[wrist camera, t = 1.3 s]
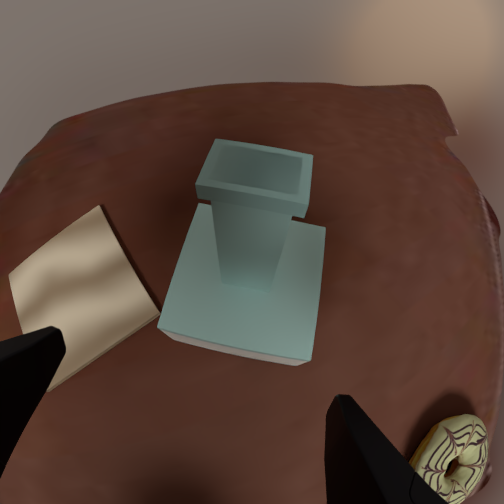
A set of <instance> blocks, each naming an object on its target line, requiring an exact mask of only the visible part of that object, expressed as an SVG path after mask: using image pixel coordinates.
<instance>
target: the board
mask: <svg viewBox="0 0 504 504" xmlns="http://www.w3.org/2000/svg"><path fill="white" fill-rule="evenodd" d="M9 280H10V285H11V290H12V294H13V298H14V303H15V307H16V311H17V314H18V318H19V321H20V325H21V328H22V332H23V334H26V333H29V332H33V331H36V330H39V329H42V328H45V327H48V326H54V327H56V328H59V329H60V330H61V331H62V334H63V338H64V341H65V345H66V354H65V356H64V358H63V360H62V361H61V363H60V365H59V367H58V369H57V371H56V373H55V375H54V377H53V379H52V381H51V383H50V385H49V387H48V389H47V392H49V391H51V390H52V389H54V388H55V387H57V386H58V385H59V384H61V383H62V382H64V381H65V380H67V379H68V378H70V377H71V376H73V375H74V374H75V373H77V372H78V371H80V370H81V369H83V368H84V367H86V366H87V365H88V364H90V363H91V362H93V361H94V360H96V359H97V358H99V357H100V356H101V355H103V354H104V353H106V352H107V351H109V350H110V349H112V348H113V347H115V346H116V345H117V344H119V343H120V342H122V341H123V340H125V339H126V338H128V337H129V336H130V335H132V334H133V333H135V332H136V331H138V330H139V329H141V328H142V327H143V326H145V325H146V324H148V323H149V322H151V321H152V320H154V319H155V318H157V317H158V316H159V315H161V313H160V312H159V310H158V309H157V307H156V306H155V304H154V302H153V301H152V299H151V298H150V296H149V294H148V293H147V291H146V290H145V288H144V286H143V285H142V283H141V281H140V280H139V278H138V276H137V275H136V273H135V271H134V269H133V268H132V266H131V264H130V262H129V261H128V259H127V257H126V255H125V253H124V252H123V250H122V248H121V246H120V244H119V242H118V241H117V239H116V237H115V235H114V233H113V231H112V229H111V227H110V225H109V223H108V221H107V219H106V217H105V215H104V213H103V211H102V209H101V207H100V206H99V205H98V206H97V207H95V208H94V209H92V210H91V211H90V212H88V213H87V214H85V215H84V216H82V217H81V218H79V219H78V220H77V221H75V222H74V223H72V224H71V225H70V226H68V227H67V228H65V229H64V230H63V231H61V232H60V233H59V234H57V235H56V236H55V237H53V238H52V239H51V240H50V241H48V242H47V243H46V244H44V245H43V246H42V247H41V248H39V249H38V250H37V251H36V252H35V253H33V254H32V255H31V256H30V257H28V258H27V259H26V260H25V261H24V262H23V263H21V264H20V265H19V266H18V267H17V268H16V269H15V270H13V271H12V272H11V273H10V274H9Z"/></svg>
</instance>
